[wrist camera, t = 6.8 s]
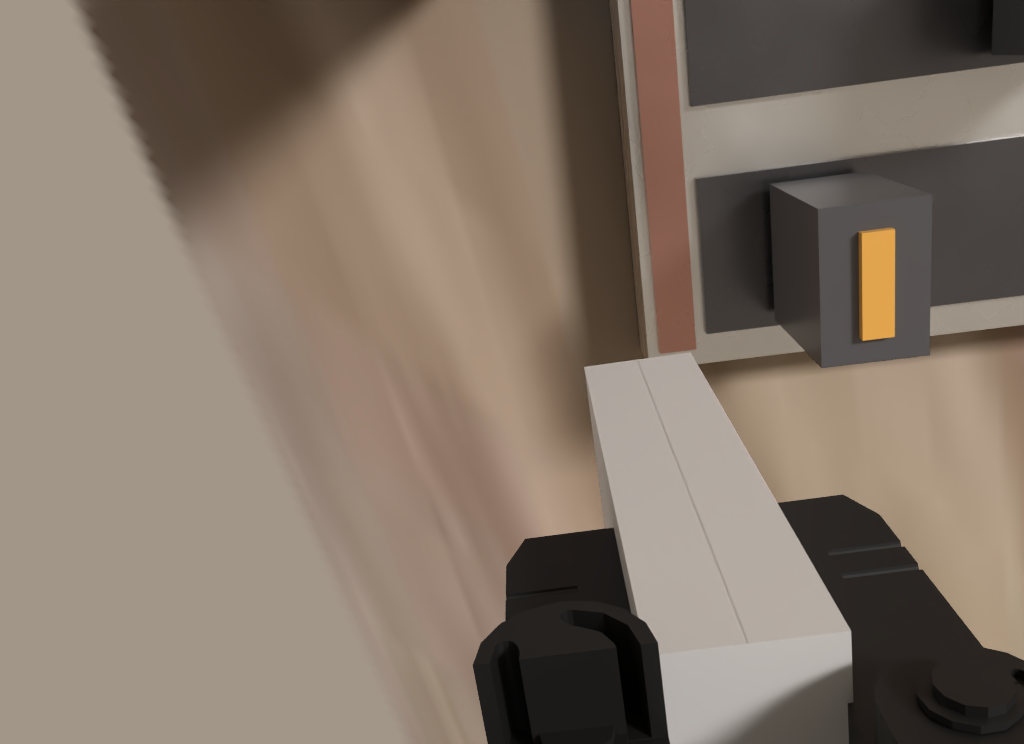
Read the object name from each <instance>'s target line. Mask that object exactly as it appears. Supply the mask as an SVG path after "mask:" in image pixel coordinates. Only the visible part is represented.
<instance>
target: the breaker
mask: <svg viewBox="0 0 1024 744" xmlns="http://www.w3.org/2000/svg"><path fill="white" fill-rule="evenodd" d="M992 55H1024V0H993V28H992Z"/></svg>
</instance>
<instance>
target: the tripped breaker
mask: <svg viewBox="0 0 1024 744" xmlns="http://www.w3.org/2000/svg"><path fill="white" fill-rule="evenodd" d="M769 187H770V212H771V237H772V263H773V288H774V313H775V320H776V322H777V323H778V324H779V325H780V326H781V327H782V328H783V329H784V330H785V331H786V332H787V333H788V334H789V335H790V336H791V337H792V338H793V339H794V340H795V341H796V342H797V343H798V344H799V345H800V346H801V347H802V348H803V349H804V350H805V351H806V353H807V354H808V355H809V356H810V357H811V358H812V359H813V360H814V361H815V362H816V363H817V364H818V365H819V366H820V367H821V368H827V367H835V366H843V365H852V364H860V363H868V362H877V361H885V360H893V359H902V358H910V357H918V356H927V355H930V303H931V244H932V194H930V193H927V192H924V191H921V190H918V189H915V188H912V187H909V186H906V185H903V184H900V183H898V182H895V181H892V180H889V179H886V178H883V177H880V176H877V175H874V174H871V173H868V172H857V173H849V174H841V175H834V176H826V177H818V178H811V179H803V180H795V181H787V182H780V183H772V184H769Z"/></svg>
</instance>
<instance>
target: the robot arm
mask: <svg viewBox="0 0 1024 744" xmlns="http://www.w3.org/2000/svg"><path fill="white" fill-rule="evenodd" d="M584 370H585V378H586V385H587V393H588V401H589V409H590V416H591V424H592V432H593V440H594V447H595V455H596V463H597V471H598V478H599V486H600V494H601V502H602V509H603V517H604V525H605V529H599V530H591V531H583V532H575V533H568V534H560V535H552V536H544V537H537V538H529V539H525V540H524V542H523V543H522V544H521V546H520V547H519V549H518V550H517V551H516V553H515V554H514V556H513V557H512V559H511V560H510V561H509V563H508V564H507V566H506V599H507V600H506V621H505V622H503V623H501V624H500V625H499V626H498V627H497V628H496V629H495V630H494V631H493V632H492V633H491V634H490V635H489V636H488V637H487V638H486V639H485V640H484V641H483V642H482V643H481V644H480V647H479V650H478V653H477V655H476V658H475V661H474V664H473V669H474V674H475V679H476V684H477V690H478V695H479V700H480V705H481V710H482V716H483V721H484V726H485V731H486V736H487V742H488V744H1024V660H1021V659H1019V658H1017V657H1015V656H1013V655H1010V654H1008V653H1005V652H1001V651H996V650H992V649H987V648H983V647H982V645H981V644H980V643H979V641H978V640H977V639H976V638H975V636H974V635H973V634H972V632H971V631H970V630H969V629H968V627H967V626H966V625H965V623H964V622H963V621H962V620H961V618H960V617H959V616H958V615H957V613H956V612H955V611H954V609H953V608H952V607H951V606H950V604H949V603H948V602H947V600H946V599H945V598H944V597H943V595H942V594H941V593H940V591H939V590H938V589H937V588H936V586H935V585H934V584H933V582H932V581H931V580H930V579H929V577H928V576H927V575H926V574H925V572H924V571H923V570H919V568H918V563H917V562H916V561H915V559H914V558H913V557H912V556H911V554H910V553H909V552H908V550H907V549H906V548H905V547H901V543H900V540H899V539H898V538H897V536H896V535H895V534H894V533H893V531H892V530H891V529H890V527H889V526H888V525H887V524H886V522H885V521H884V520H883V518H882V517H881V516H880V515H879V514H877V513H876V512H874V511H872V510H870V509H868V508H866V507H865V506H863V505H861V504H859V503H857V502H855V501H854V500H852V499H850V498H848V497H846V496H844V495H836V496H829V497H821V498H813V499H805V500H798V501H790V502H782V503H777V501H776V500H775V498H774V496H773V495H772V493H771V491H770V489H769V488H768V486H767V484H766V482H765V481H764V479H763V477H762V475H761V474H760V472H759V470H758V469H757V467H756V465H755V463H754V462H753V460H752V458H751V456H750V455H749V453H748V451H747V449H746V448H745V446H744V444H743V442H742V441H741V439H740V437H739V436H738V434H737V432H736V430H735V429H734V427H733V425H732V423H731V422H730V420H729V418H728V416H727V415H726V413H725V411H724V410H723V408H722V406H721V404H720V403H719V401H718V399H717V397H716V396H715V394H714V392H713V390H712V389H711V387H710V385H709V383H708V382H707V380H706V378H705V377H704V375H703V373H702V371H701V370H700V368H699V366H698V364H697V363H696V361H695V359H694V357H693V356H692V354H691V352H689V353H682V354H674V355H667V356H660V357H653V358H645V359H638V360H631V361H624V362H616V363H609V364H602V365H595V366H587V367H584Z"/></svg>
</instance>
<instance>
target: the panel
mask: <svg viewBox="0 0 1024 744" xmlns="http://www.w3.org/2000/svg"><path fill="white" fill-rule="evenodd" d="M609 2H610V13H611V24H612V35H613V47H614V58H615V69H616V80H617V91H618V103H619V114H620V125H621V136H622V147H623V159H624V170H625V181H626V192H627V203H628V215H629V226H630V237H631V248H632V259H633V271H634V282H635V293H636V304H637V316H638V327H639V338H640V348H641V351H642V353H643V356H644V358H653V357H660V356H667V355H674V354H682V353H689V352H691V354H692V356H693V357H694V359H695V361H696V363H697V364H703V363H711V362H720V361H728V360H736V359H745V358H753V357H761V356H769V355H778V354H786V353H794V352H803V351H805V350H804V349H803V348H802V347H801V346H800V345H799V344H798V343H797V342H796V341H795V340H794V339H793V338H792V337H791V336H790V335H789V334H788V333H787V332H786V331H785V330H784V329H783V328H782V327H781V326H780V325H779V324H778V323H777V322H776V320H775V313H774V288H773V263H772V237H771V212H770V187H769V184H772V183H780V182H787V181H795V180H803V179H811V178H818V177H826V176H834V175H841V174H849V173H857V172H868V173H871V174H874V175H877V176H880V177H883V178H886V179H889V180H892V181H895V182H898V183H900V184H903V185H906V186H909V187H912V188H915V189H918V190H921V191H924V192H927V193H930V194H932V244H931V303H930V336H935V335H943V334H951V333H960V332H968V331H976V330H985V329H993V328H1001V327H1009V326H1018V325H1024V55H992V28H993V0H609Z"/></svg>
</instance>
